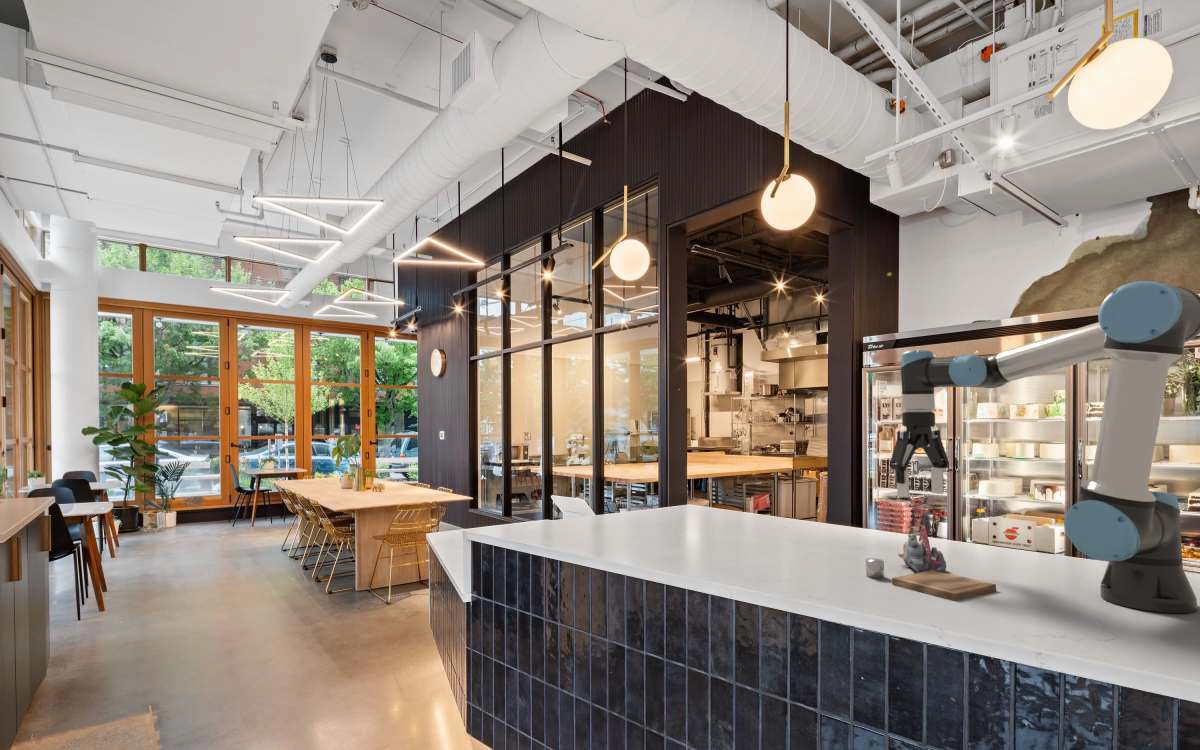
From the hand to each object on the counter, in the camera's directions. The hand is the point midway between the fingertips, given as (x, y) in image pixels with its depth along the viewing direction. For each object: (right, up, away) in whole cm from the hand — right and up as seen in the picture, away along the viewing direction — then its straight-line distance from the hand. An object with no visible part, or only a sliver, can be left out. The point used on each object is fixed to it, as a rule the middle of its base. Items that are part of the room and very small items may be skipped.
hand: (920, 495), depth 160 cm
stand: (-4, -18, -17) cm, 25 cm away
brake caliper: (0, -19, -1) cm, 19 cm away
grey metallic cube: (-15, -18, -7) cm, 25 cm away
